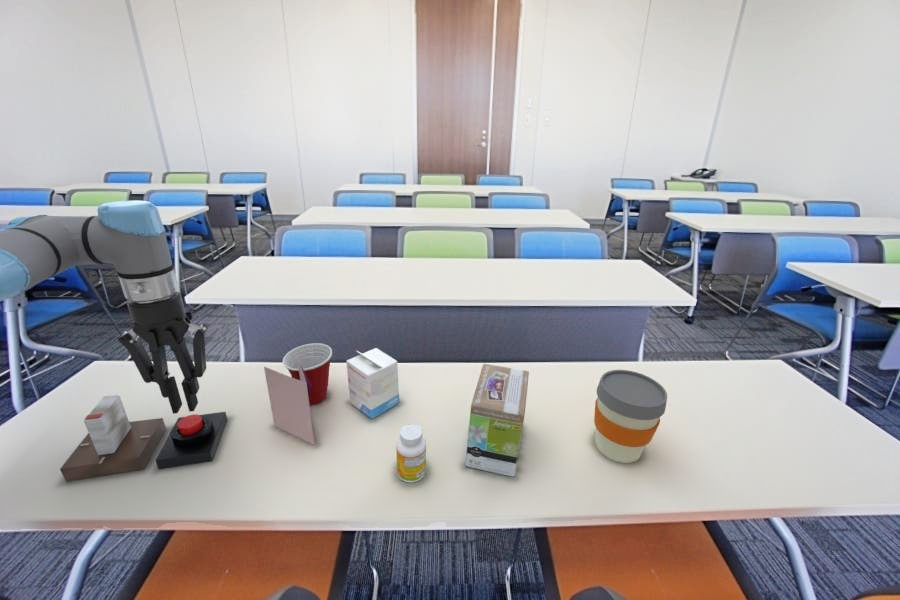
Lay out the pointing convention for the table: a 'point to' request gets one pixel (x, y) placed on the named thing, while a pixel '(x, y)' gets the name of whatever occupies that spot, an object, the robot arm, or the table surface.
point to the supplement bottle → (411, 454)
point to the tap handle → (107, 424)
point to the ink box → (373, 382)
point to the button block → (193, 443)
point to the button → (190, 424)
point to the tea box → (497, 419)
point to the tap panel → (116, 453)
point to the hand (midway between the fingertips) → (185, 407)
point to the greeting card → (290, 403)
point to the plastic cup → (311, 368)
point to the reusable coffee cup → (627, 414)
